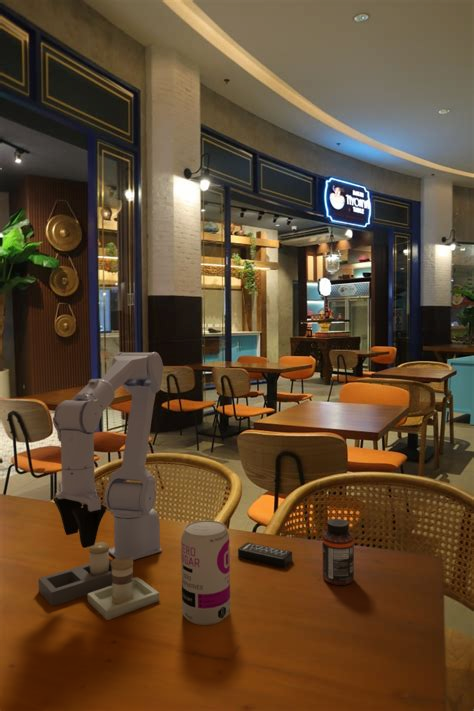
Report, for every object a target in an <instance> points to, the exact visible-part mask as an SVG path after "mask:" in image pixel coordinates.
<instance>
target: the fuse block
mask: <svg viewBox="0 0 474 711" xmlns="http://www.w3.org/2000/svg"><path fill="white" fill-rule="evenodd" d="M112 560H113V559H110V558H109V572H106V573H103V574H100V575H97V576H91V575H90V562H88V563H86V564H84V565H83V564H82V565H78V566H76V567H72V568H69V569H66V570H62V571H59V572H56V573H53V574H49V575H48V574H47V575H45V576H41V577H38V592H39V593H40V595H42V597H43V598H44V599H45V600H46V602H47V603H49V604H50V605H51V607H54V606H57V605H60V604H63V603H66V602H69V601H73V600H75V599H78V598H79V599H80V598H81V597H85V596H88V593H91V592H94V591H97V590H100V589H103V588H106V587H109V586H112V568H111V561H112Z"/></svg>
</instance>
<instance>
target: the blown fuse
mask: <svg viewBox="0 0 474 711" xmlns="http://www.w3.org/2000/svg"><path fill="white" fill-rule="evenodd" d="M111 560H112V561H111V568H112V602H113V603H114V604H116V605H119V604H122V603H125V602H127V601H130V600H133V599H134V593H133V578H134V569H133V565H134V560H133V559H132V558H130V557H118V558H115V557H114V558H113V559H111Z"/></svg>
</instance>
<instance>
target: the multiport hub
mask: <svg viewBox="0 0 474 711" xmlns="http://www.w3.org/2000/svg"><path fill="white" fill-rule="evenodd" d="M237 557H238V558H237V559H240V560H244V561H249V562H253V563H258V564H261V565H265V566H269V567H270V566H271V567H275V568H277V569H278V568H280V569H286V568H287V567H288V566H289V565H290V564H291V563H292V562H293V551H292V550H286V549H282V548H276V547H272V546H267V545H263V544H257V543H253V542H245V543H244V544H242V545H241V546H240V547H238V549H237Z"/></svg>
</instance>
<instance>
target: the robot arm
mask: <svg viewBox="0 0 474 711" xmlns="http://www.w3.org/2000/svg"><path fill="white" fill-rule="evenodd" d="M163 373H164V364H163V360H162V357H161V356H160V354H159V353H158V352H156V351H153V352H152V351H151V352H124V351H119V352H117V354H116V355H114V356H113V358H112V361H111V367H110V368H109V369H108V370H107V372H105V374H104V375H103V377H101V378H91V379H89V380H88V384H87V385H85V386H84V387H83V388H82V389H81V390H80V391H78V393H76V394H75V395H74V397H72V398H71V399H70V400H68V399H66V400H65V399H64V400H63V401H61V403H58V404H57V406H56V407H55V410H54V416H53V417H52V424H53V426H54V428H55V429H56V430H55V431H56V433H57V439H58V442H60V458H61V459H60V461H61V465H60V466H61V481H60V482H58V492H56V493H55V496H54V497H53V500H52V501H53V502H54V504H55V506H56V508H57V510H58V512H59V515H60V518H61V521H62V525H63V530H64V534H65V535H66V536H70V535H74V534H77V533H79V534H78V535H79V540H80V545H81V547H82V548H83V549H85V548H89V547H90V546H93V545H94V544H95V543H96V540H97V536H98V530H99V526H100V523H101V521H102V519H103V517H104V516H105V513H106V512H107V509H108V510H110V515H112V516H113V537H114V539H113V540H114V542H113V543H114V547H112V548H110V547H109V555H111V556H113V557H114V559H115V558H118V557H130V558H132V559H133V561H135V560H139V559H141V558H144V557H148V556H152V555H155V554H157V553H161V552H162V551H163V549H162V548H161V528H160V527H161V524H160V517H159V513H157V511H156V510H155V509H154V507H155V503H156V499H157V497H156V496H157V495H156V494H157V493H156V478H155V477H154V476H153V474H151V473H150V471H149V470H148V469H146V462H147V455H148V448H149V440H150V433H151V427H152V426H151V425H152V419H153V411H154V406H155V405H154V404H155V398H156V397H155V396H156V394H157V393H159V391H160V392H161V386H162V381H163V375H164V374H163ZM120 387H122V388H123V390H125V391H126V392H128V393H130V395H131V402H130V410H129V415H128V423H127V427H126V428H127V429H126V436H125V441H124V450H123V454H122V455H123V456H122V463H121V466H120V467H119V468H117V469H116V470H115V471H113V472H112V473H111V474H110V477H109V481H108V483H107V486H106V488H105V492H104V504H105V505H103V504H101V500H102V499H101V498H100V497H99V495H98V493H97V492H98V490H97V488H96V485H95V484H96V483H95V436H94V431H96V430H97V429H98V427H99V424H100V420H101V418H102V417H103V412H104V411H105V410H106V409H107V408H108V407H109V406H110V405H111V403H112V402H114V400H115V398H116V397H115V396H116V394H115V392H116V391H117V390H118V389H119V388H120ZM131 481H135V482H131Z"/></svg>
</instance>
